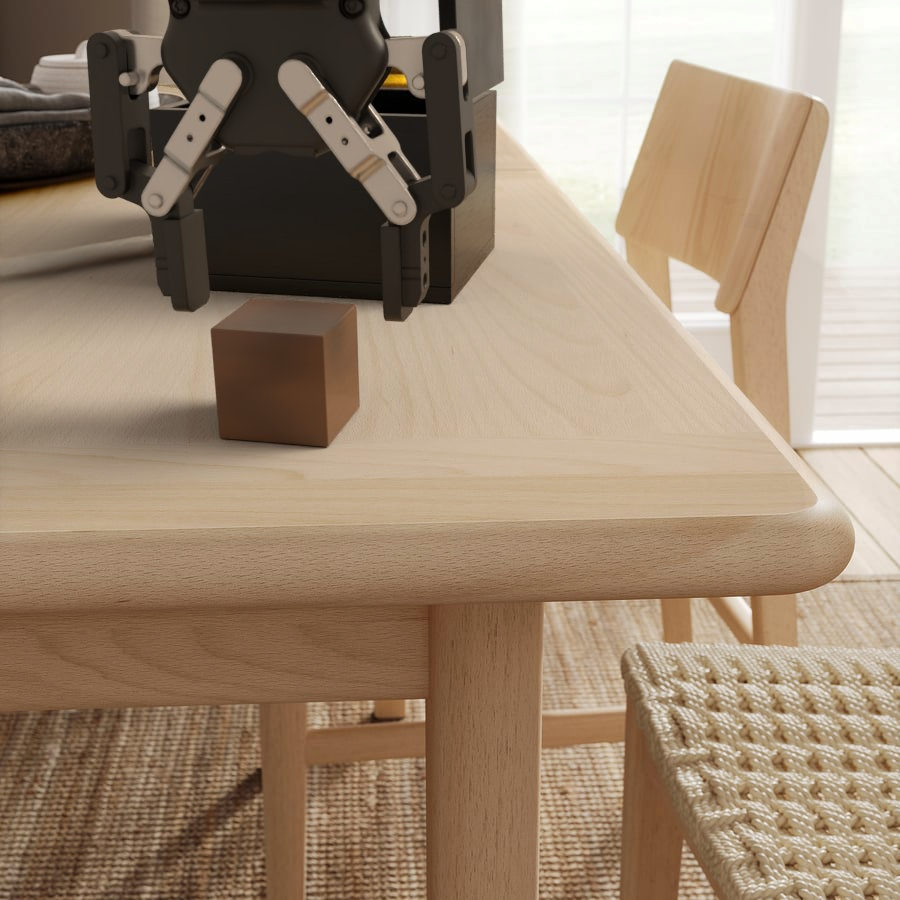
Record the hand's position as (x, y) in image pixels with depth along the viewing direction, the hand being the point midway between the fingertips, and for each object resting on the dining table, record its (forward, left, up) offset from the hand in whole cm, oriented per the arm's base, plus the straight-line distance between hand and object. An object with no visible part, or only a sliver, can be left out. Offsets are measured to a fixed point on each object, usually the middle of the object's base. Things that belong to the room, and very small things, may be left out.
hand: (293, 311), depth 46 cm
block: (0, 0, -5) cm, 5 cm away
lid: (-13, +22, +15) cm, 29 cm away
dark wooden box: (-19, +18, -5) cm, 27 cm away
